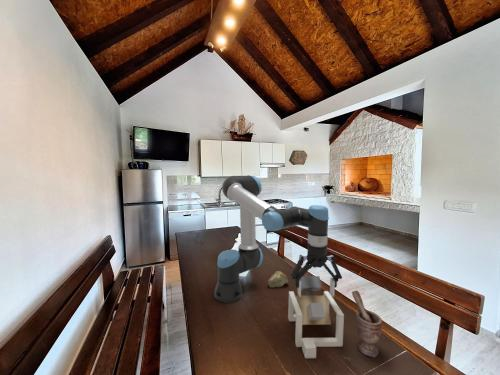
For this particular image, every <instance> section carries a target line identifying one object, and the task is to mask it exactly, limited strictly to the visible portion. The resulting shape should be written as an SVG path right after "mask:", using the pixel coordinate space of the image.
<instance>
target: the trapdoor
mask: <svg viewBox="0 0 500 375" xmlns="http://www.w3.org/2000/svg"><path fill="white" fill-rule="evenodd" d="M322 288H323V287H322V282H321V278H320V275H317V276H316V275H312V276H311V275H309V276H308V275H303V277H302V278H301V292H303V291H305V295H301V297H299V295H295V297H296V300H297V302H298V305H299V307H300V310H301V313H302V326H307V325H309V326H313V325H314V326H315V325H317V326H321V325H329V326H330V325H332V322H331V317H330V311H329V312H328V308H327V304H326V299H325V295H324V294H323V295H314V292H313V291H316V292H317V291H318V292H320V291H321V289H322ZM296 289H297V290H298V288H296ZM310 303H323V307H324V312H325V318H323V319H322V320H313V321H309V319H308V313H307V306H308V305H309V304H310Z"/></svg>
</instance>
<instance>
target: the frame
mask: <svg viewBox="0 0 500 375" xmlns="http://www.w3.org/2000/svg"><path fill="white" fill-rule="evenodd" d="M323 295H325V299H326V304H327V308H328V312H329V313H330V306H331V307H332V309H333V311H334V312H335V314H336V318H335V321H336V322H335V337H303V325H302V313H301V310H300V307H299V305H298V302H297V300H296V297H295V296H296V294H295V292H294V290H293V291H290V290H289V291H288V307H287V308H288V310H287V311H288V314H287V318H288V322H295V334H294V335H295V338H294V339H295V341H294V342H295V347H296V348H302V340H306V339H313V341H314V343H315V346H316V348H317V347H320V348H321V347H323V348H324V347H325V348H327V347H330V348H331V347H334V348H335V347H344V346H343V344H344V323H345V322H344V321H345V320H344V319H345V314H344V313H343V311H342V310H341V308H340V306H338V304H337V302H336V301H335V298H334V297H333V296H332V295H331V294H330V291H328V290H325V291H323Z"/></svg>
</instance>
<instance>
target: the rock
mask: <svg viewBox="0 0 500 375" xmlns="http://www.w3.org/2000/svg"><path fill="white" fill-rule="evenodd" d="M286 283H289V279H288V276H287V275H286V274H285V273H284V272H282V271H281V270H276V271H275V272H274V274H272V275H271V276H270V277H269V278H268V280H267V284H268V287H269V288H280V287H281V288H282V287H283V286H284V285H286Z"/></svg>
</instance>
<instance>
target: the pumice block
mask: <svg viewBox="0 0 500 375" xmlns="http://www.w3.org/2000/svg"><path fill="white" fill-rule="evenodd" d="M301 350H302V353H303V355H304V358H305V359H317V347H316V346H315V343H314V341H313V339H306V340H302V347H301Z"/></svg>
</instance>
